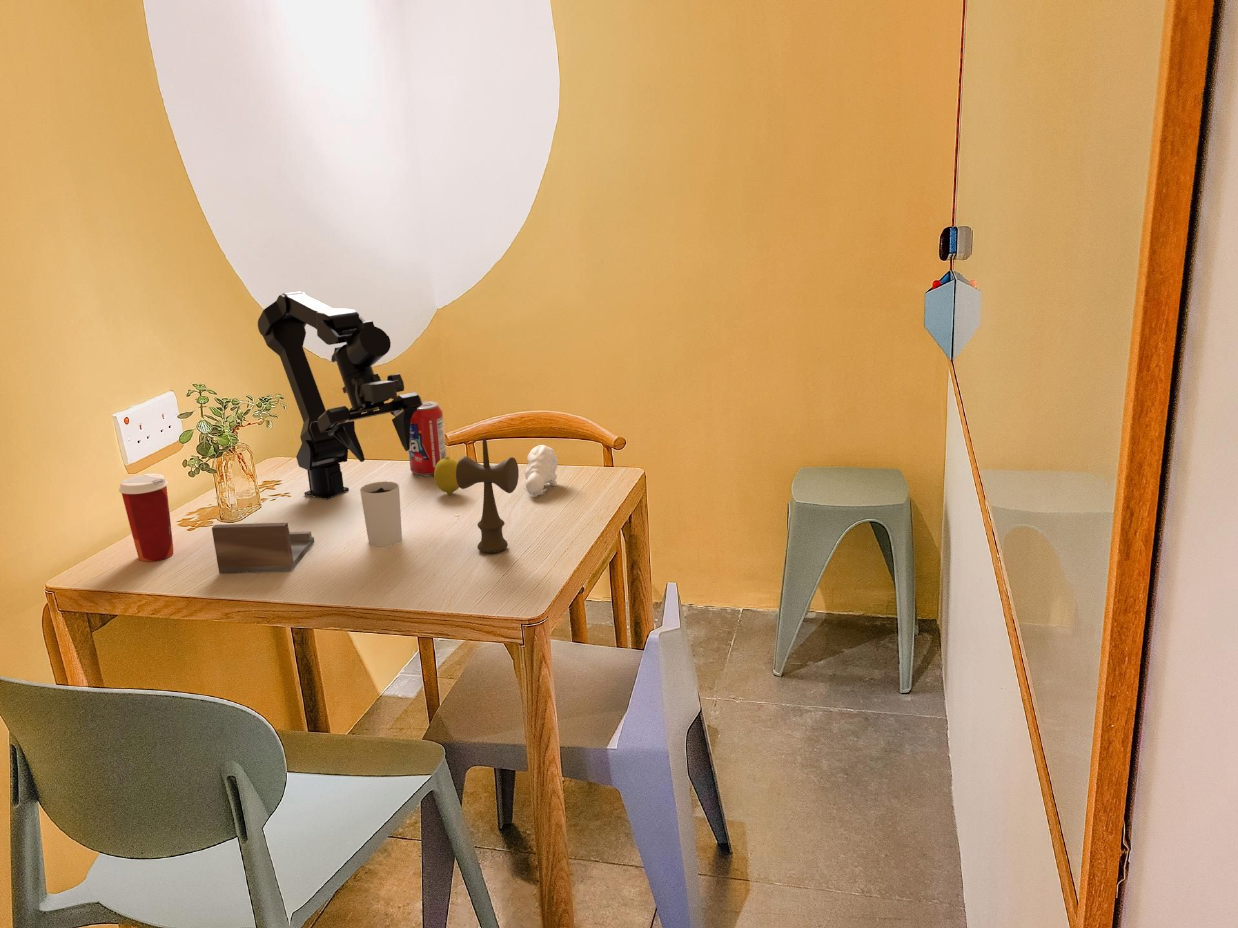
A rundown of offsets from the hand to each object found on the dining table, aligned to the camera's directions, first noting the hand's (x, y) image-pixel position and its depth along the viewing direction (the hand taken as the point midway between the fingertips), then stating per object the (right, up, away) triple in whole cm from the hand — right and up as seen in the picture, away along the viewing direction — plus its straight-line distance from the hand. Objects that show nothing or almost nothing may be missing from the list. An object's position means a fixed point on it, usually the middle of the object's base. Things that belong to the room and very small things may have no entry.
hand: (385, 455), depth 182 cm
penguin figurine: (+27, -7, +20) cm, 34 cm away
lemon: (+9, -8, +19) cm, 22 cm away
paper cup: (-38, -18, -8) cm, 43 cm away
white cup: (+1, -15, -5) cm, 16 cm away
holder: (-18, -18, -11) cm, 27 cm away
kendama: (+21, -16, -10) cm, 28 cm away
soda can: (+2, -3, +34) cm, 34 cm away
